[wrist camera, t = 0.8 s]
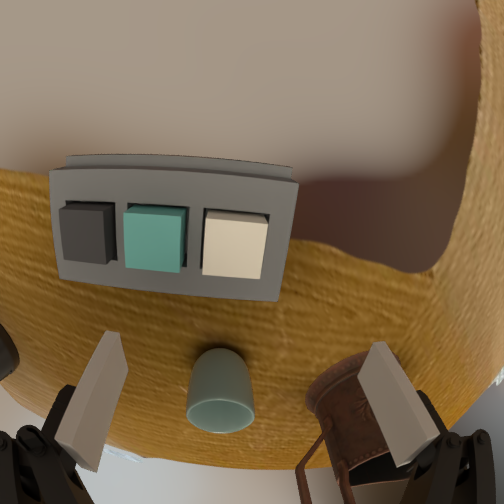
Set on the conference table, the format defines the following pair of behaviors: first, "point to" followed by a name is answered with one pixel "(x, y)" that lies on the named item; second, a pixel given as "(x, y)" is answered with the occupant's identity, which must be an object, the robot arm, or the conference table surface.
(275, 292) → the console
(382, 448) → the cup holder
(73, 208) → the black key
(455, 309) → the conference table surface
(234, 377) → the cup
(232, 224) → the ivory key
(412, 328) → the conference table surface
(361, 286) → the conference table surface
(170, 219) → the teal key
